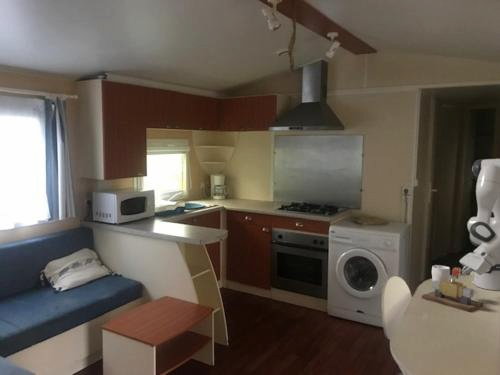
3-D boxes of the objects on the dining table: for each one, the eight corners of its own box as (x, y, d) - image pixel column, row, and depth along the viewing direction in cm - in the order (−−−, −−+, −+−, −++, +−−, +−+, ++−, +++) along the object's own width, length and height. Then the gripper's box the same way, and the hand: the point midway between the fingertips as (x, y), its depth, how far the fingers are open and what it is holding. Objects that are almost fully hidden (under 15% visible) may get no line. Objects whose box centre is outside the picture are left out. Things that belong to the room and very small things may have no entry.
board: (435, 293, 212) (436, 290, 212) (482, 306, 194) (482, 303, 194) (421, 298, 204) (421, 295, 204) (469, 311, 186) (469, 308, 185)
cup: (447, 292, 214) (448, 270, 214) (428, 289, 220) (430, 267, 219) (450, 288, 222) (451, 267, 221) (433, 285, 227) (434, 264, 226)
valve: (436, 293, 207) (437, 277, 206) (473, 303, 193) (474, 286, 192) (430, 295, 203) (431, 279, 203) (468, 306, 189) (469, 288, 188)
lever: (455, 282, 196) (456, 273, 196) (449, 281, 197) (449, 272, 197) (460, 277, 207) (460, 268, 206) (454, 276, 208) (454, 267, 208)
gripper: (469, 247, 212) (449, 264, 213) (488, 255, 191) (465, 275, 193) (478, 255, 212) (457, 273, 213) (498, 265, 191) (475, 284, 193)
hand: (461, 274), depth 203 cm, fingers closed
